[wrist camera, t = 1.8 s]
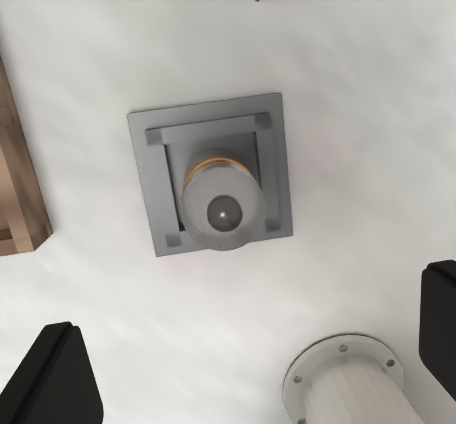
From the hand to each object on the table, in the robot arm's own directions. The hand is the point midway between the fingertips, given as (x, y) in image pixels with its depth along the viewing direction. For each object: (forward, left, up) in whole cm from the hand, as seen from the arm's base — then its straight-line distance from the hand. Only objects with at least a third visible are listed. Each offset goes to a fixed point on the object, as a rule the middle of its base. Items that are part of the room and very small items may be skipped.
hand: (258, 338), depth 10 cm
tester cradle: (0, 0, -22) cm, 22 cm away
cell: (0, 0, -21) cm, 21 cm away
